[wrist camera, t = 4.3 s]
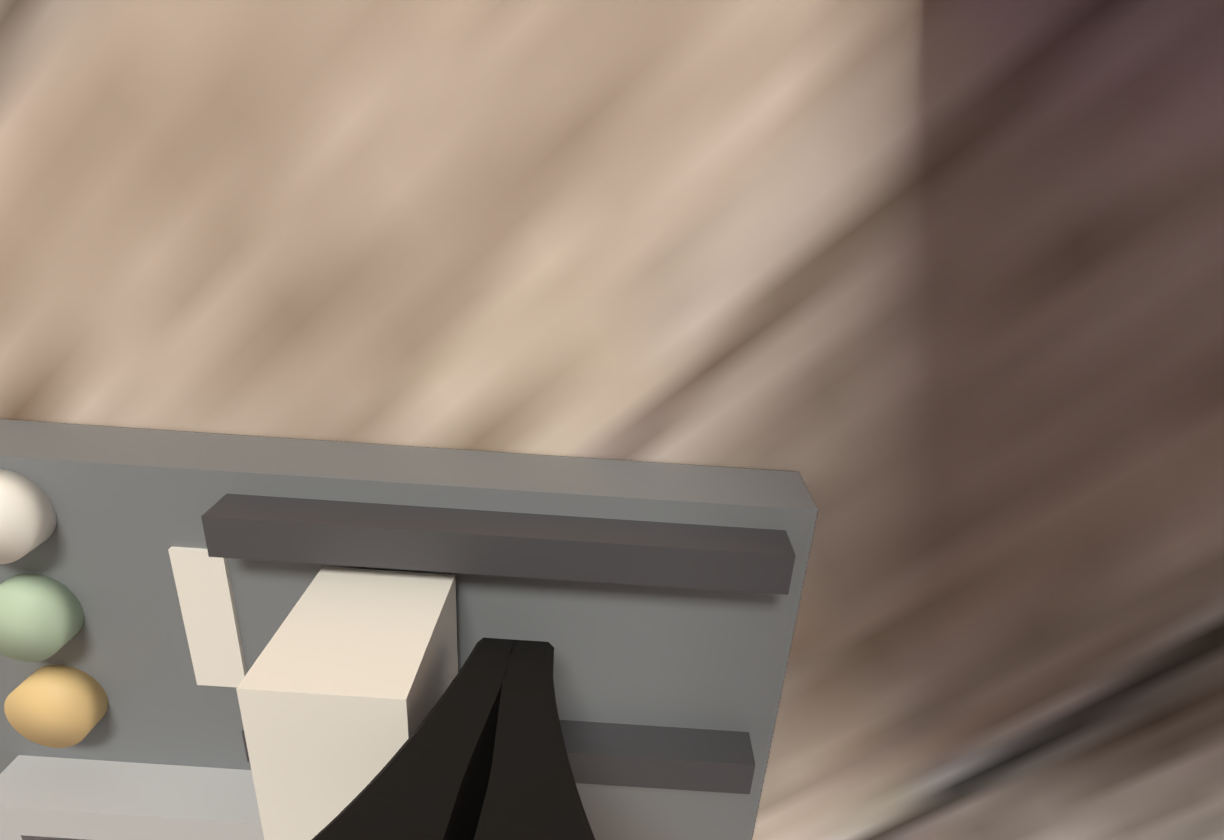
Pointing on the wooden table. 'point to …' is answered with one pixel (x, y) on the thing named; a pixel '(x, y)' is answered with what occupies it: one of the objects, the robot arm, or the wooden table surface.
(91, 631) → the breaker panel
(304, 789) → the switch
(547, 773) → the robot arm
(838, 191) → the wooden table surface
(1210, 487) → the wooden table surface
